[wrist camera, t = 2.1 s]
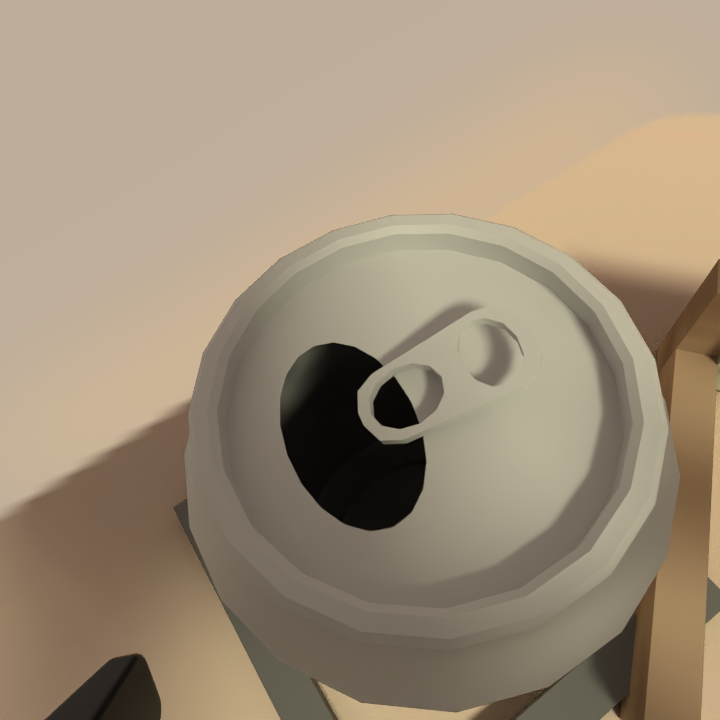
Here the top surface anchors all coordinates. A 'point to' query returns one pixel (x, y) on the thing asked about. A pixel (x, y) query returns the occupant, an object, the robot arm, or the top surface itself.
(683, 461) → the dock
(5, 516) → the top surface
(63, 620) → the top surface
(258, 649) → the holster frame
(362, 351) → the can
